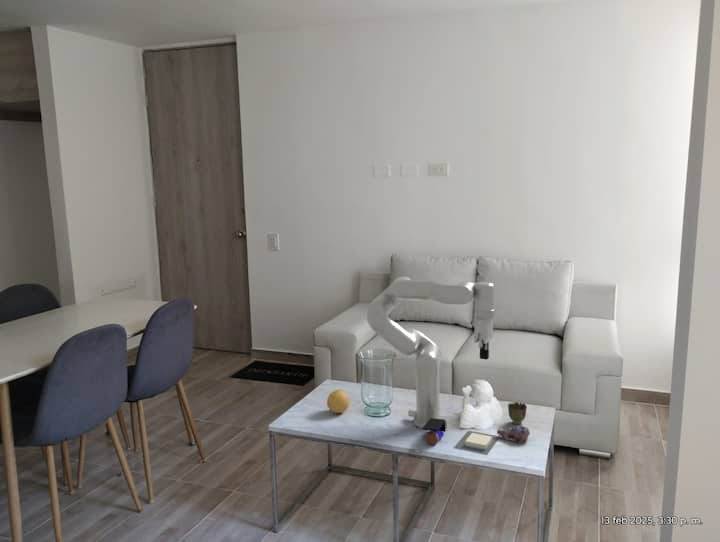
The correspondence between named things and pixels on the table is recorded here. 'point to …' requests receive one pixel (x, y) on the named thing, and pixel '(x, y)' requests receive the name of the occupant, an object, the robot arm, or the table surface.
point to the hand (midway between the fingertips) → (484, 358)
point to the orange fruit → (338, 401)
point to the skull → (515, 434)
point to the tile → (478, 441)
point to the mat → (462, 446)
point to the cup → (517, 412)
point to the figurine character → (434, 430)
